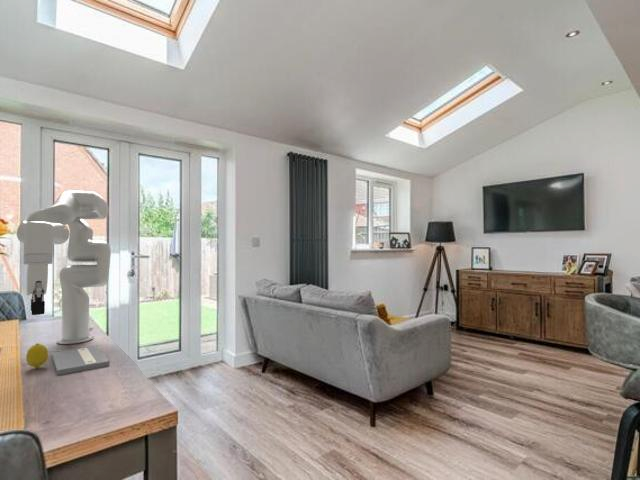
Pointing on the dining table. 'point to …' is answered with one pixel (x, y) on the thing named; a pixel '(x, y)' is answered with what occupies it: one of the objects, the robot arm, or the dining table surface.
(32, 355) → the lemon
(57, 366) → the panel
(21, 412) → the dining table surface
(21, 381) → the dining table surface
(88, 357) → the strip
